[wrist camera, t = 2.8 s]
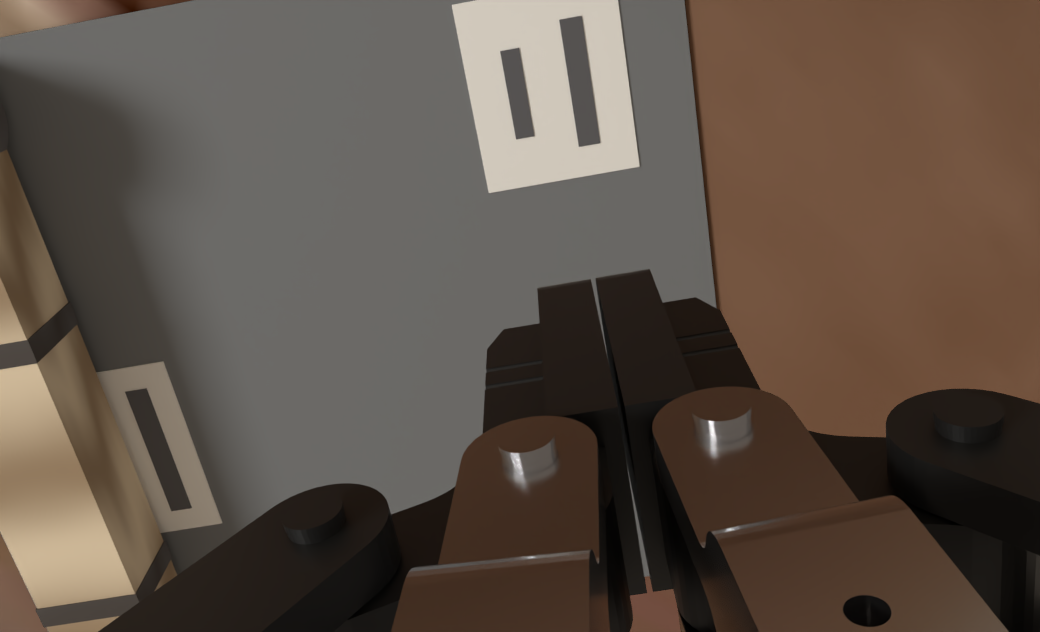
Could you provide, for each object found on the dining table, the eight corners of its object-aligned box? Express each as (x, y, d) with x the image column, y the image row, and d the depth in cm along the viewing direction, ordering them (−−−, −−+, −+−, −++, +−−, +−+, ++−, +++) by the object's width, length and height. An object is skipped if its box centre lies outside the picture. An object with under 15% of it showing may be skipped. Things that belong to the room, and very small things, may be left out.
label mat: (-216, 79, 30) (-220, 80, 30) (674, -93, 28) (675, -92, 28) (63, 660, 39) (61, 664, 39) (742, 560, 38) (743, 563, 37)
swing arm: (-161, 62, 29) (-259, 85, 25) (-25, 35, 29) (-103, 55, 25) (103, 643, 38) (59, 723, 34) (209, 628, 38) (176, 707, 34)
